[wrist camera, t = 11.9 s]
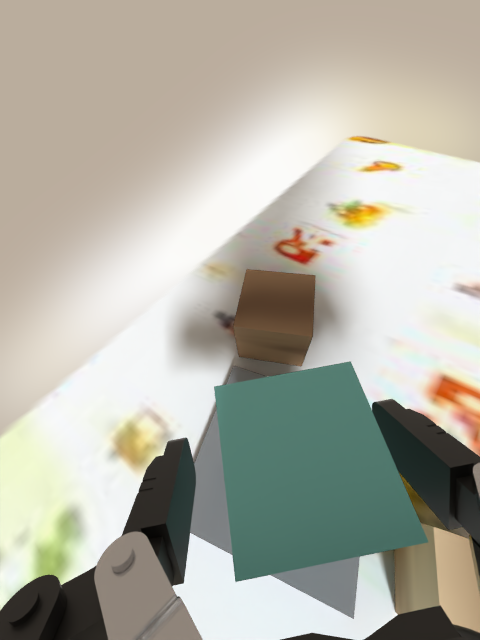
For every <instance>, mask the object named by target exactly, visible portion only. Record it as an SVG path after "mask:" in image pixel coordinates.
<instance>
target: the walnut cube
mask: <svg viewBox="0 0 480 640" xmlns="http://www.w3.org/2000/svg"><path fill="white" fill-rule="evenodd" d="M314 296H315V275H304V274H293V273H283V272H272V271H261V270H250V269H247V270H246V274H245V278H244V283H243V287H242V291H241V295H240V299H239V304H238V308H237V312H236V316H235V320H234V324H233V329H234V334H235V339H236V344H237V349H238V354H239V357H243V358H250V359H257V360H263V361H270V362H276V363H283V364H290V365H296V366H302V364H303V361H304V359H305V356H306V353H307V350H308V348H309V345H310V342H311V340H312V337H313V317H314Z"/></svg>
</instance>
